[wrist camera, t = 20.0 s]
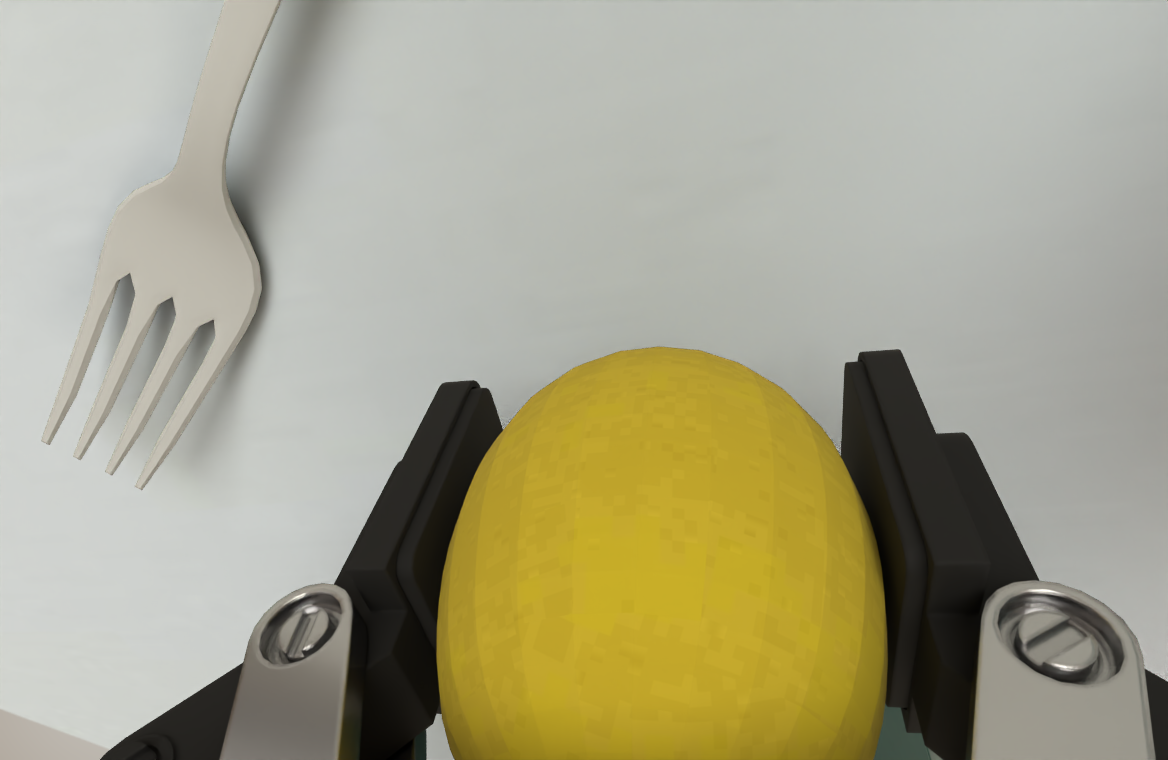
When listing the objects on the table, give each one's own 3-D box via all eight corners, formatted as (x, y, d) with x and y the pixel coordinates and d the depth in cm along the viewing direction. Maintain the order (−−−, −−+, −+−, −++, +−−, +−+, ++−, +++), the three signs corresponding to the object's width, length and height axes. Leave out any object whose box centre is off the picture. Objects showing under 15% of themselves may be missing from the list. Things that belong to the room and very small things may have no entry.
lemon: (515, 479, 14) (361, 975, 8) (524, 231, 11) (264, 745, 4) (783, 522, 14) (854, 1078, 7) (877, 281, 10) (1158, 915, 4)
